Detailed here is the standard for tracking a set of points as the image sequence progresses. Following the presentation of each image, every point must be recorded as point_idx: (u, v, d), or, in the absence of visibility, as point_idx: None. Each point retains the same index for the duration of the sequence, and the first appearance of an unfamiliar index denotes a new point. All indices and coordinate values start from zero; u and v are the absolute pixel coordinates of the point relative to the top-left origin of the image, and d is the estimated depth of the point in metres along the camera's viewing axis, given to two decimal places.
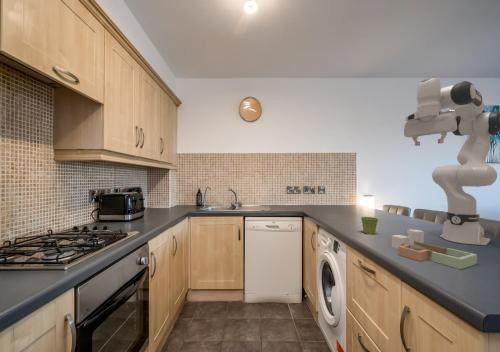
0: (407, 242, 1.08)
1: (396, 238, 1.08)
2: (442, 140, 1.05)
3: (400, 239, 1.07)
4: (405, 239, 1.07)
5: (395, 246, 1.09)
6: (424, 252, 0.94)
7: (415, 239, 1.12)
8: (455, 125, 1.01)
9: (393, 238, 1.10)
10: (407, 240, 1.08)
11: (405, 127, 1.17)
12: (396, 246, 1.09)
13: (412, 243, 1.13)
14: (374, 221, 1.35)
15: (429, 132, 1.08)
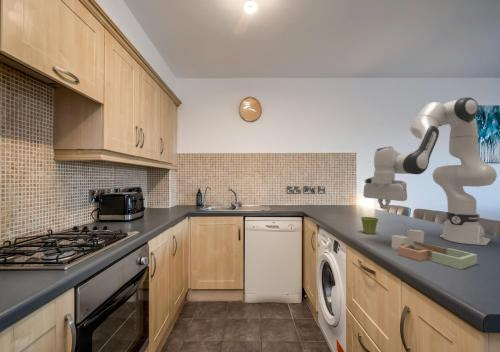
0: (407, 242, 1.08)
1: (396, 238, 1.08)
2: (386, 206, 1.15)
3: (400, 239, 1.07)
4: (405, 239, 1.07)
5: (395, 246, 1.09)
6: (424, 252, 0.94)
7: (415, 239, 1.12)
8: (405, 196, 1.08)
9: (393, 238, 1.10)
10: (407, 240, 1.08)
11: (364, 189, 1.24)
12: (396, 246, 1.09)
13: (412, 243, 1.13)
14: (374, 221, 1.35)
15: (383, 197, 1.15)
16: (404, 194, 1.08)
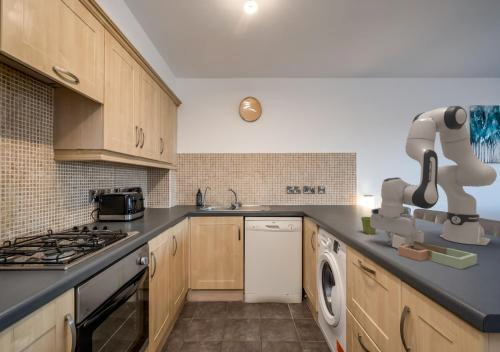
0: (408, 242, 1.07)
1: (398, 238, 1.08)
2: None
3: (402, 239, 1.06)
4: (407, 239, 1.06)
5: (395, 245, 1.09)
6: (424, 252, 0.94)
7: (415, 239, 1.12)
8: (414, 231, 1.04)
9: (394, 237, 1.09)
10: (408, 240, 1.07)
11: (371, 219, 1.20)
12: (396, 245, 1.08)
13: (412, 243, 1.13)
14: None
15: (391, 230, 1.11)
16: (413, 229, 1.04)
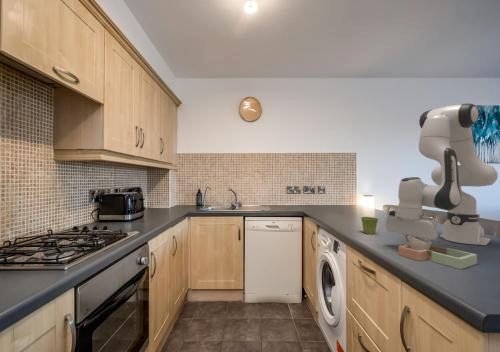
0: (428, 247, 1.00)
1: (418, 241, 1.00)
2: None
3: (422, 244, 0.99)
4: (427, 244, 0.99)
5: (413, 248, 1.02)
6: (424, 252, 0.94)
7: None
8: (435, 234, 0.97)
9: (414, 240, 1.02)
10: (428, 245, 1.00)
11: (386, 221, 1.13)
12: (414, 249, 1.02)
13: None
14: (374, 221, 1.35)
15: (409, 234, 1.04)
16: (434, 233, 0.97)
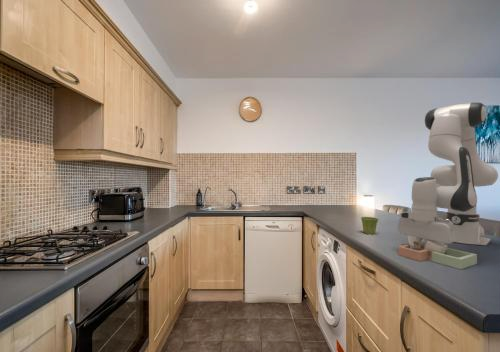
0: (443, 251, 0.95)
1: (433, 245, 0.95)
2: None
3: (437, 247, 0.94)
4: (443, 248, 0.94)
5: None
6: (424, 252, 0.94)
7: (415, 239, 1.12)
8: (452, 238, 0.92)
9: (428, 244, 0.97)
10: (444, 249, 0.95)
11: (399, 223, 1.08)
12: None
13: (412, 243, 1.13)
14: (374, 221, 1.35)
15: (423, 237, 0.99)
16: (451, 236, 0.92)
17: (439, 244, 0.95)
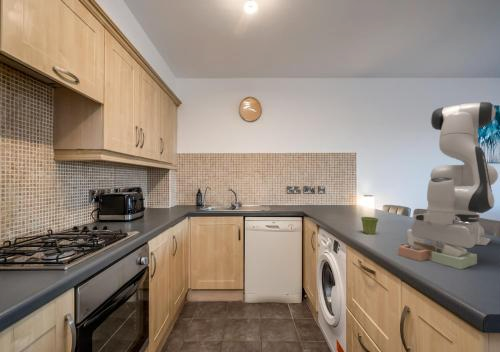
0: None
1: (451, 249, 0.90)
2: None
3: (456, 252, 0.89)
4: (462, 253, 0.89)
5: None
6: (424, 252, 0.94)
7: (415, 239, 1.12)
8: (472, 242, 0.86)
9: (446, 248, 0.91)
10: (463, 254, 0.89)
11: (413, 226, 1.02)
12: None
13: (412, 243, 1.13)
14: (374, 221, 1.35)
15: (440, 240, 0.94)
16: (471, 240, 0.86)
17: (458, 248, 0.90)
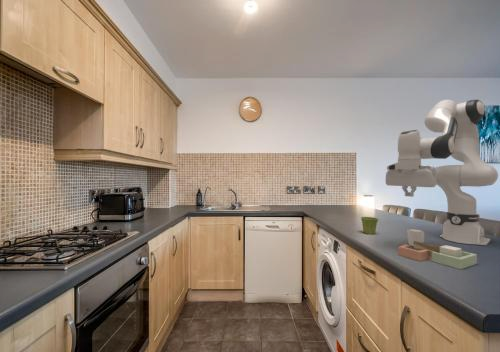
0: (459, 255, 0.91)
1: (446, 250, 0.91)
2: (412, 194, 1.08)
3: (451, 251, 0.90)
4: (457, 251, 0.90)
5: None
6: (424, 252, 0.94)
7: (415, 239, 1.12)
8: (434, 182, 1.01)
9: (442, 250, 0.93)
10: (459, 252, 0.91)
11: (386, 176, 1.16)
12: None
13: (412, 243, 1.13)
14: (374, 221, 1.35)
15: (409, 184, 1.08)
16: (433, 180, 1.00)
17: (452, 248, 0.92)
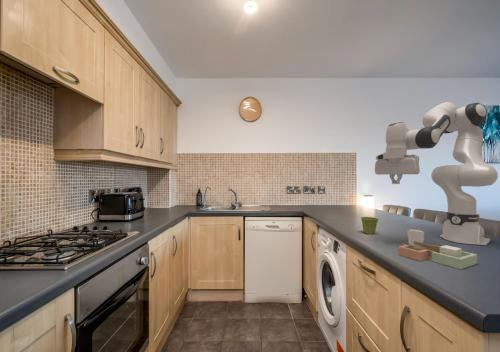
0: (459, 255, 0.91)
1: (446, 250, 0.91)
2: (398, 181, 1.16)
3: (451, 251, 0.90)
4: (457, 251, 0.90)
5: None
6: (424, 252, 0.94)
7: (415, 239, 1.12)
8: (417, 169, 1.09)
9: (442, 250, 0.93)
10: (459, 252, 0.91)
11: (376, 165, 1.25)
12: None
13: (412, 243, 1.13)
14: (374, 221, 1.35)
15: (395, 172, 1.16)
16: (417, 167, 1.09)
17: (452, 248, 0.92)
